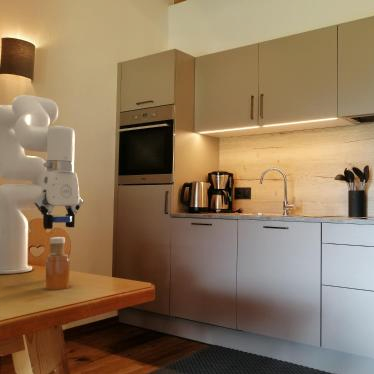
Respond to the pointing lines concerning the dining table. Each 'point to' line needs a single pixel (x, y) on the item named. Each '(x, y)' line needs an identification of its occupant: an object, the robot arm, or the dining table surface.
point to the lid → (61, 218)
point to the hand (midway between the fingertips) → (59, 227)
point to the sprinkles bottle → (57, 245)
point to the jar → (57, 271)
